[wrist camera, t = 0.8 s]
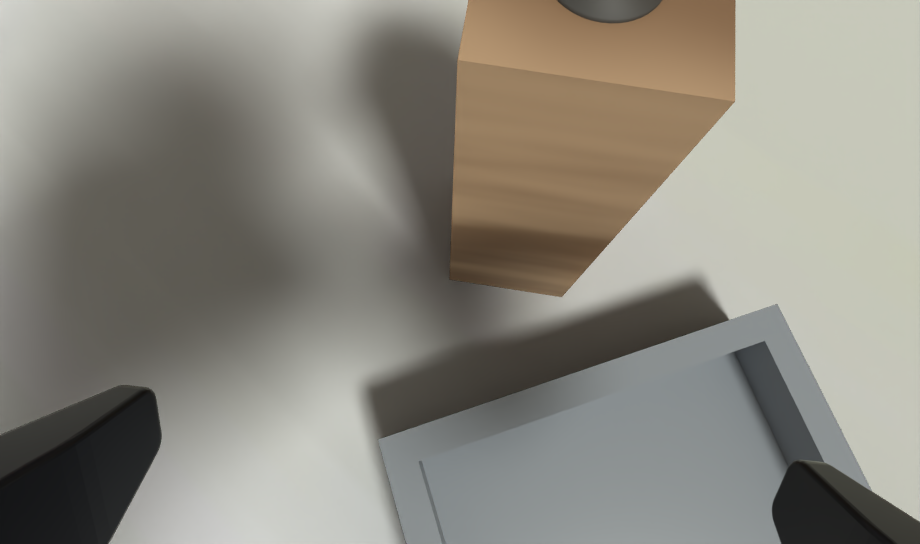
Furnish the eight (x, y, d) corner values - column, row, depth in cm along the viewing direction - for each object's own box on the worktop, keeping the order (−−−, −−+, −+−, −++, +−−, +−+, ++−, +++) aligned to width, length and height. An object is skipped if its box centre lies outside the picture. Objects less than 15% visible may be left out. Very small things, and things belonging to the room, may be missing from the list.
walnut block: (561, 297, 21) (738, 97, 8) (449, 279, 21) (457, 55, 8) (572, 194, 22) (738, -112, 10) (466, 178, 22) (495, -147, 10)
